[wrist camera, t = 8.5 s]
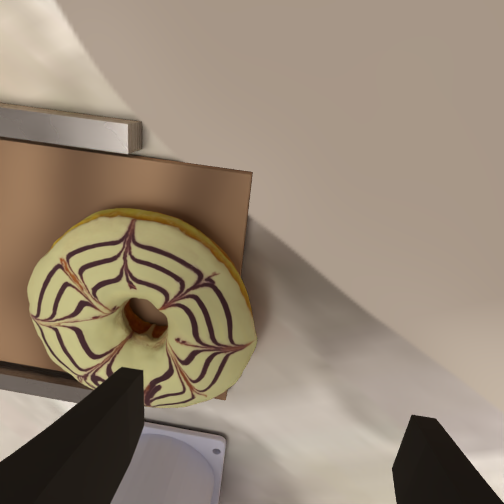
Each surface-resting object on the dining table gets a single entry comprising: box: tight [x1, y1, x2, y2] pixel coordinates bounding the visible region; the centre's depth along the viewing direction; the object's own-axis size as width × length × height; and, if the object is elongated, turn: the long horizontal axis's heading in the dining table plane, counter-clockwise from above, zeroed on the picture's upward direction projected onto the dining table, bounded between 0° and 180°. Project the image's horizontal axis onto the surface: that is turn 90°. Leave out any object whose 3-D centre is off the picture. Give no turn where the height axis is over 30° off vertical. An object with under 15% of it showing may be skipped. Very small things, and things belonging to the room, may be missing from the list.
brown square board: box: [0, 137, 253, 400], centre depth 18 cm, size 18×13×5 cm
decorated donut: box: [27, 208, 257, 408], centre depth 19 cm, size 10×11×4 cm
